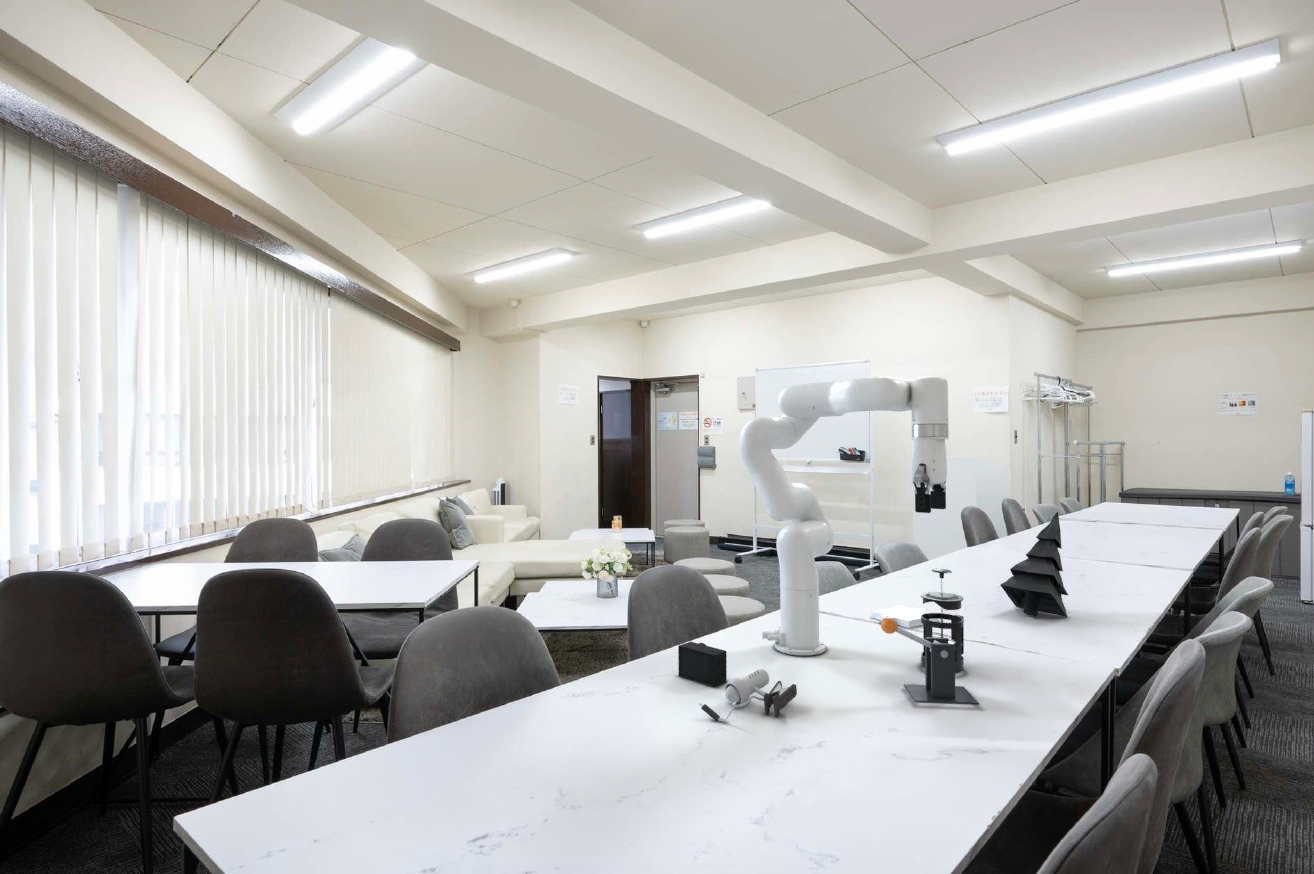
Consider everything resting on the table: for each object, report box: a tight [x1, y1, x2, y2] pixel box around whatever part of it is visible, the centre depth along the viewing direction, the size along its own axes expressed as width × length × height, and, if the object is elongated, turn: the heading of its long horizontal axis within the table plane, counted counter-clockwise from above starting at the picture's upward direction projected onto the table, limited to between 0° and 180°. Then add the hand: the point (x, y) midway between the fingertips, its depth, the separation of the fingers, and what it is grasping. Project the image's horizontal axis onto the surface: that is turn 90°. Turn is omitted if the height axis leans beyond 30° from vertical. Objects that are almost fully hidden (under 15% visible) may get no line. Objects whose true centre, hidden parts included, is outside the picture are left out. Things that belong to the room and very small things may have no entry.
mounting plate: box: [871, 604, 939, 629], centre depth 199 cm, size 18×13×2 cm
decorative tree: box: [999, 511, 1069, 618], centre depth 207 cm, size 15×15×35 cm
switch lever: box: [880, 617, 940, 651], centre depth 139 cm, size 14×3×3 cm, turn 84°
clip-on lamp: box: [698, 668, 798, 722], centre depth 132 cm, size 12×6×18 cm
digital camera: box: [677, 641, 728, 688], centre depth 150 cm, size 10×5×7 cm, turn 47°
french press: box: [920, 568, 965, 674], centre depth 155 cm, size 12×9×23 cm
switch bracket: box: [903, 636, 980, 706], centre depth 138 cm, size 12×9×12 cm
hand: (930, 510), depth 150 cm, fingers open, 9 cm apart
